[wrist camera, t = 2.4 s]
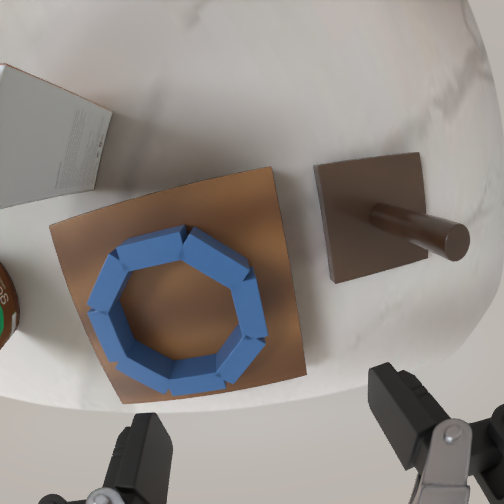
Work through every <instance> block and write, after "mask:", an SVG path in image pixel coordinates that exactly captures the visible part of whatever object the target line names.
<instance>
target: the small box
mask: <svg viewBox="0 0 504 504" xmlns="http://www.w3.org/2000/svg"><path fill="white" fill-rule="evenodd" d="M111 116H112V111H110V110H108V109H106V108H104V107H102V106H100V105H98V104H95V103H93V102H91V101H89V100H87V99H85V98H83V97H80V96H78V95H76V94H74V93H72V92H70V91H68V90H65V89H63V88H61V87H59V86H56V85H54V84H52V83H50V82H47V81H45V80H43V79H40V78H38V77H36V76H33V75H31V74H29V73H26V72H24V71H22V70H20V69H17V68H15V67H13V66H10V65H8V64H5V63H4V64H0V209H3V208H7V207H11V206H16V205H20V204H25V203H29V202H34V201H39V200H43V199H48V198H52V197H57V196H63V195H68V194H75V193H81V192H87V191H93V190H94V186H95V181H96V176H97V171H98V167H99V162H100V158H101V154H102V150H103V146H104V141H105V138H106V134H107V130H108V126H109V123H110V119H111Z"/></svg>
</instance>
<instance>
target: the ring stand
mask: <svg viewBox="0 0 504 504" xmlns="http://www.w3.org/2000/svg"><path fill="white" fill-rule="evenodd" d="M313 167H314V172H315V178H316V184H317V189H318V195H319V201H320V207H321V213H322V220H323V226H324V233H325V240H326V247H327V255H328V262H329V270H330V278H331V280H332V281H333V282H334V283H335V284H337V283H341V282H344V281H348V280H352V279H356V278H359V277H363V276H367V275H371V274H374V273H378V272H381V271H385V270H389V269H392V268H396V267H399V266H403V265H406V264H409V263H413V262H416V261H420V260H423V259H426V258H428V250H429V251H431V252H433V253H435V254H438V255H440V256H442V257H444V258H446V259H448V260H450V261H459V260H460V259H462V258H463V257H464V256H465V254H466V253H467V251H468V248H469V244H470V235H469V231H468V229H467V228H466V227H465V226H464V225H463V224H460V223H456V222H453V221H449V220H446V219H442V218H439V217H435V216H432V215H428V214H426V205H425V194H424V185H423V176H422V168H421V161H420V154H419V152H414V153H403V154H394V155H385V156H377V157H369V158H361V159H354V160H347V161H340V162H333V163H327V164H320V165H314V166H313Z"/></svg>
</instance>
